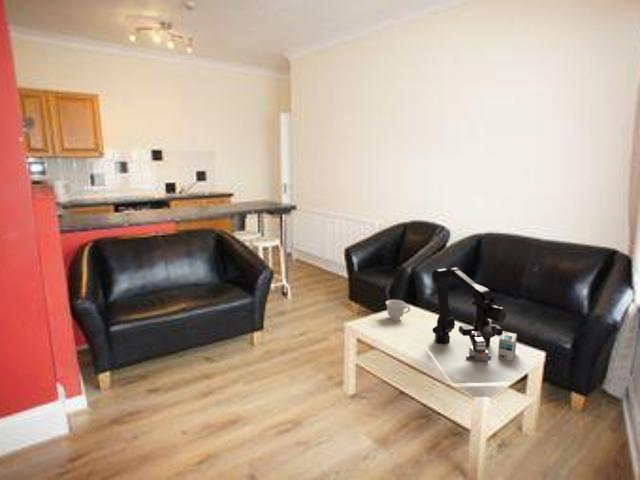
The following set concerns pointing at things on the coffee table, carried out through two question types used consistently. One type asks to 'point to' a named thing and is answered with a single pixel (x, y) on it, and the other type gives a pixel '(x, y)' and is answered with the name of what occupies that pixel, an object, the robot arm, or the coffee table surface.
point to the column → (480, 344)
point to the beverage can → (483, 337)
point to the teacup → (396, 309)
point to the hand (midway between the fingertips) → (479, 347)
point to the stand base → (478, 355)
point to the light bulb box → (507, 346)
